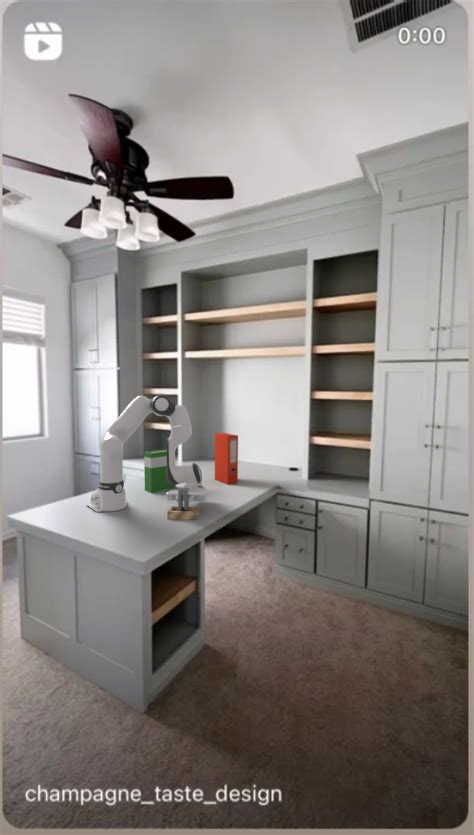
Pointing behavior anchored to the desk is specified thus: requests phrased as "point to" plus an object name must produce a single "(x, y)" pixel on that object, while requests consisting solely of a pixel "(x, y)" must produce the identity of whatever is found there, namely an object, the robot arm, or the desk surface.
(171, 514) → the wooden tray
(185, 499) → the clip
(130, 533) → the desk surface
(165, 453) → the green box
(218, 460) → the file binder
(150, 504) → the desk surface
